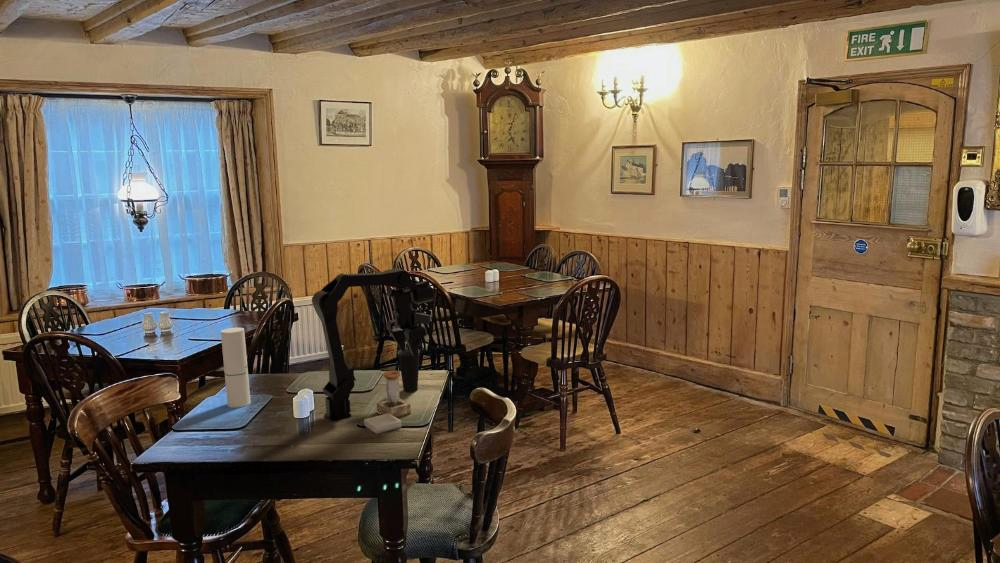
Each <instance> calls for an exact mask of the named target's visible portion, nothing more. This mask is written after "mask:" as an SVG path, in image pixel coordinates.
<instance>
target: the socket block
mask: <svg viewBox="0 0 1000 563" xmlns="http://www.w3.org/2000/svg"><path fill="white" fill-rule="evenodd" d="M411 410H412V409H411V403H410V402H407V401H405V400H404V399H402V398H400V405H399V406H395V407H391V408H389V407H387V400H383V401H379V402H376V412H377V411H378V412H379V413H381V414H382V415H384V414H388V413H389V414H391V415H392V416H394V417H396V416H398V417H401V416H400V415H402V416H404V415H403V414H406V415H408V414H407V413H410V414H412V411H411ZM378 412H377V413H378ZM379 413H378V414H379ZM381 414H380V415H381ZM396 418H397V417H396Z"/></svg>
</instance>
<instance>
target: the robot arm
mask: <svg viewBox="0 0 1000 563" xmlns="http://www.w3.org/2000/svg"><path fill="white" fill-rule="evenodd" d="M373 286H374V287H376V286H377V287H379V286H383V287H384V286H385V287H390V288H388V291H387V292H386V293H385V296H386V297H389V298H392V302H393V303H392V304H393V309H394V310H393V311H392V313H391V314H392V315H393V316H394V317H395V319H391V320H388V321H387V322H386V324H385V326H386V330H387V331H388V333H389V334H390V335H391V337H392V338H393V339H394V341H395V342H396V345H397V346H398V347H399V349H400V350H401V351H405V348H406V344H407V347H408V346H409V348H410V350H411V352H412V354H413V356H414V357H416V356H417V354H418V350H420V348H419V347H420V342H421V340H423V338H425V337H426V336H427V334H428V332H427V328H426V327H424V326H422V325H425V326H429V325H430V321H431V316H432V315H430V314H426V313H424V312H422V310H421V309H417V308H416V309H414V308H413V306H412V303H413V304H415V305H420V304H424V303H427V302H428V303H429V302H432V301H433V300H434V297H435V294H434V293H435V292H434V291H433V290H434V289H433V288H432V286H431V285H430V281H429V280H423V281H421V282H417V283H416V282H415V281H414V280H413V279H412V277H411V274H410V273H409V272H408V271H407V270H405V269H401V268H397V267H394V268H389V269H387V270H386V269H385V270H383V271H380V272H369V273H368V272H367V273H338V274H337V275H336V276H335V277H334V278H333V279H332V280H331V281H330V282H328V283H327V284H326V285H324V286H323V287H322V289H320V290H318V291H316V292H315V293H314V294H313V296H312V297H311V303H312V307H313V308H314V311H315V313H316V315H317V316H318V319H319V320H320V322H321V326H322V330H323V335H324V340H325V345H326V348H327V349H326V350H327V354H328V359H329V363H330V365H329V372H328V377H329V380H328V382H327V383H326V384H325V385H324V387H323V388H322V392H323V394H324V395H325V396H326V397H325V398H324V399H325V401H324V402H325V413H324V414H323V415H324V416H325V417H327V419H329V420H330V421H332V422H333V421H338V420H341V419H344V418H349V417H352V414H351V400H350V397H351V396H350V395H351V392H352V391H353V389H354V387H355V386H356V385H355V381H357V379H356V377H355V370H354V367H352V366H351V365H349V364H347V363H346V360H345V355H344V350H343V346H342V341H341V337H340V336H341V335H340V333H339V332H340V331H339V327H338V322H337V319H338V318H337V317H338V314H339V313H338V312H339V306H338V305H339V304H338V303H339V302H340V301H341V299H343V297H344V296H345V294H346V292H347V290H348V289H349V288H350V287H351V288H356V287H373ZM394 288H396V289H394ZM405 288H406V289H405ZM419 324H421V325H419Z"/></svg>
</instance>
